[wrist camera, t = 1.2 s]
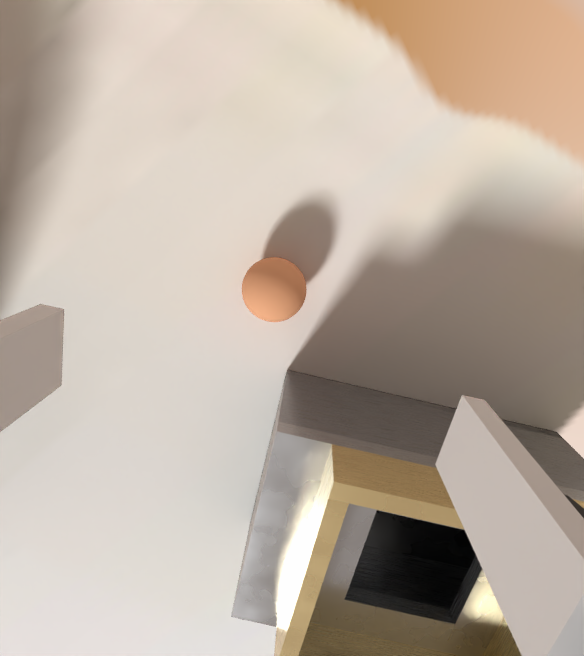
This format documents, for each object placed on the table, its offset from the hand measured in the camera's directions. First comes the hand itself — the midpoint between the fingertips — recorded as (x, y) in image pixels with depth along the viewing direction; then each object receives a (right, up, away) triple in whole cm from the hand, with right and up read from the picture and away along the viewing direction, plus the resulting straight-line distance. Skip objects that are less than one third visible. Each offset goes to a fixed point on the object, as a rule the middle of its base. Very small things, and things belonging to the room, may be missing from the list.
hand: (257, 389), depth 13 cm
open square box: (+9, -10, +18) cm, 23 cm away
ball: (0, +5, +14) cm, 15 cm away
